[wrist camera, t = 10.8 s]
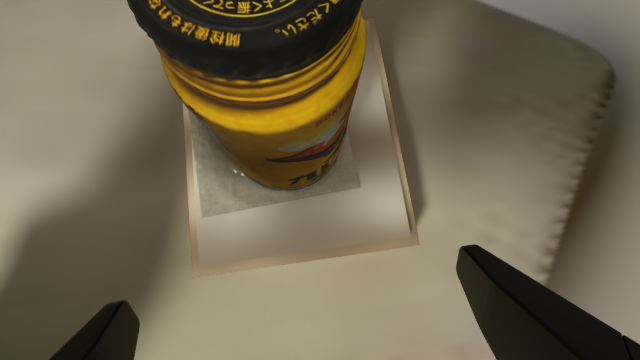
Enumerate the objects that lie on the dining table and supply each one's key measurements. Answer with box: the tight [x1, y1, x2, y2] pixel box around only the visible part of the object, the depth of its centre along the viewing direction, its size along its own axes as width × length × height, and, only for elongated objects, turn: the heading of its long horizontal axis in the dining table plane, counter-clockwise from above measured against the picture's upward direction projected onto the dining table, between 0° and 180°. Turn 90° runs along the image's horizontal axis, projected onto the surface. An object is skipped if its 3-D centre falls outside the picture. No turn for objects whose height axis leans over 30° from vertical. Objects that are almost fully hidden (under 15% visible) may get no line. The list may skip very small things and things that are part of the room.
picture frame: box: [183, 17, 420, 278], centre depth 20 cm, size 14×12×3 cm
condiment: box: [127, 0, 366, 218], centre depth 12 cm, size 7×8×12 cm
